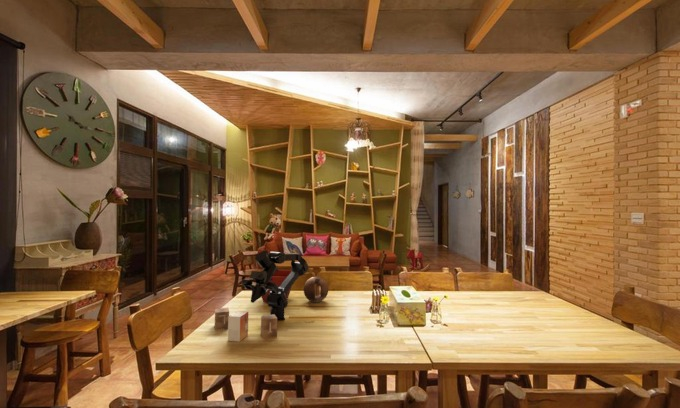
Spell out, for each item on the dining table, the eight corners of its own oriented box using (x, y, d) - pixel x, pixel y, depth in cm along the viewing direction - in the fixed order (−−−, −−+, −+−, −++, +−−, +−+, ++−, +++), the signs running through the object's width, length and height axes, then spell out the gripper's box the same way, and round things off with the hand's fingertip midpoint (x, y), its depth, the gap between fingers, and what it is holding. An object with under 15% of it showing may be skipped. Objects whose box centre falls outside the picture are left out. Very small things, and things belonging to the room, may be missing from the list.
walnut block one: (274, 331, 151) (274, 314, 152) (276, 336, 146) (277, 318, 146) (260, 333, 149) (261, 315, 149) (263, 338, 143) (263, 320, 144)
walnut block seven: (227, 324, 160) (228, 307, 160) (228, 328, 154) (229, 311, 154) (214, 325, 158) (215, 308, 158) (215, 330, 152) (215, 312, 152)
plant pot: (289, 305, 192) (289, 276, 192) (256, 304, 192) (257, 275, 193) (294, 296, 211) (294, 270, 212) (264, 296, 212) (264, 269, 212)
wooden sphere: (306, 297, 209) (307, 274, 210) (330, 299, 207) (330, 275, 208) (300, 304, 195) (301, 278, 195) (325, 306, 192) (326, 280, 193)
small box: (239, 342, 139) (240, 317, 139) (227, 341, 140) (227, 315, 140) (248, 335, 147) (248, 311, 147) (236, 334, 148) (237, 310, 148)
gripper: (244, 262, 160) (227, 290, 150) (275, 265, 152) (260, 295, 142) (255, 275, 167) (239, 302, 157) (285, 279, 159) (271, 308, 149)
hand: (251, 302), depth 151 cm, fingers closed
